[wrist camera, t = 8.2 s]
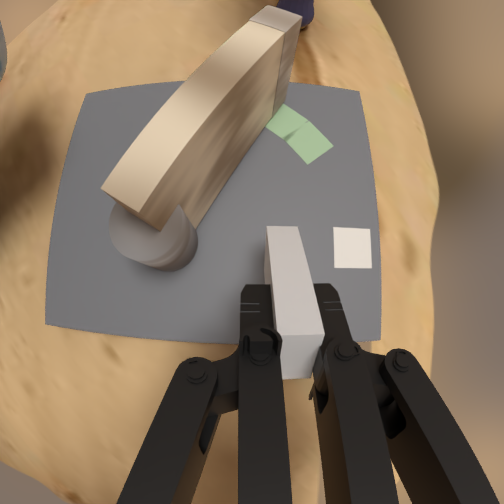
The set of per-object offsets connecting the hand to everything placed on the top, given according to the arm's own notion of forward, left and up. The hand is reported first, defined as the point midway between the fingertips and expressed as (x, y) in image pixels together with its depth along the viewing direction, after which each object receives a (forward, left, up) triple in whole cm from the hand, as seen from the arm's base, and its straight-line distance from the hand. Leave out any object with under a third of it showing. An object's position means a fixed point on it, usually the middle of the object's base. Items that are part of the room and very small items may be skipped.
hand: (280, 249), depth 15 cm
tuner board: (-4, +4, -6) cm, 8 cm away
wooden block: (-4, +6, -3) cm, 7 cm away
